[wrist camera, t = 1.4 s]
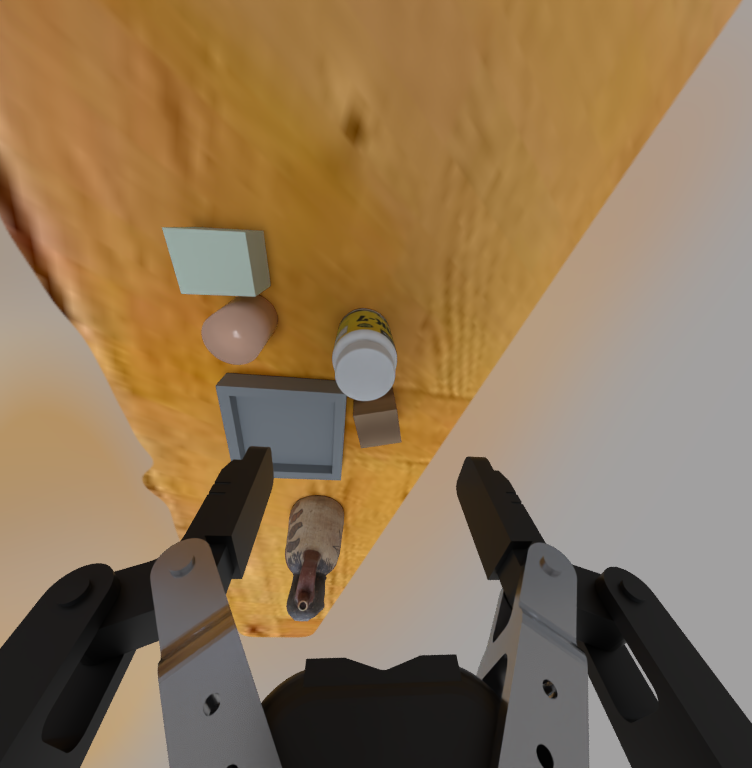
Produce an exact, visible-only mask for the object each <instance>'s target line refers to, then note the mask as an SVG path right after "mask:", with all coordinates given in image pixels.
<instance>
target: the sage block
mask: <svg viewBox="0 0 752 768" xmlns="http://www.w3.org/2000/svg"><path fill="white" fill-rule="evenodd" d="M162 229H163V232H164V236H165V239H166V243H167V246H168V250H169V253H170V256H171V260H172V263H173V267H174V270H175V273H176V277H177V280H178V284H179V287H180V291H181V294H201V295H226V296H252V297H256V296H257V295H259V294H260V293H261V292H263V291H264V290H266V289H267V288H269V287H270V286H271V284H270V276H269V269H268V261H267V254H266V246H265V239H264V231H258V230H240V229H223V228H205V227H163V228H162Z"/></svg>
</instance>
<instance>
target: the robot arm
mask: <svg viewBox="0 0 752 768" xmlns="http://www.w3.org/2000/svg"><path fill="white" fill-rule="evenodd" d="M273 480H274V472H273V462H272V452H271V448H270V447H258V446H250V447H249V448H248V449H247V451H246V453H245V455H244V457H243V459H242V460H237V459H233V460H232V461H231V462H230V463H229V464H228V465H226V466H225V467H224V468H223V469H222V470H221V472H220V474H219V475H218V477H217V479H216V481H215V484H213V486H212V488H211V490H210V491H209V495H207V497H206V498H205V500H204V502H203V504H202V505H201V507H200V509H199V511H198V513H197V514H196V516H195V518H194V520H193V521H192V523H191V525H190V527H189V528H188V530H187V532H186V534H185V535H184V537H183V538H182V540H181V541H180V542H178V543H176V544H174V545H172V546H171V547H170V548H168V549H167V550H166V551H164V552H163V553H162V555H160V557H159V558H157V559H155V560H153V561H150V562H147V563H143V564H140V565H136V566H133V567H129V568H126V569H122V570H119V571H115V572H114V571H113V570H112V569H111V567H110V566H108V565H106V564H101V563H100V564H99V563H96V564H90V565H86V566H83V567H81V568H78V569H76V570H74V571H72V572H70V573H69V574H67V575H65V576H64V577H63V578H61V579H59V580H58V581H57V582H56V583H55V584H53V585H52V586H51V587H50V588H49V589H48V590H47V591H46V592H45V594H44V595H43V596H42V597H41V598H40V599H39V601H38V602H37V603H36V604H35V606H34V607H33V608H32V610H31V611H30V612H29V613H28V615H27V616H26V617H25V618H24V620H23V621H22V622H21V623H20V625H19V626H18V627H17V629H15V631H14V632H13V633H12V635H11V636H10V637H9V638H8V640H7V641H6V642H5V643H4V645H3V646H2V647H1V648H0V768H80V766H81V764H82V762H83V760H84V758H85V756H86V754H87V752H88V750H89V747H90V745H91V743H92V741H93V739H94V737H95V735H96V733H97V731H98V729H99V727H100V724H101V722H102V720H103V718H104V716H105V714H106V712H107V710H108V708H109V706H110V703H111V702H112V699H113V697H114V695H115V693H116V691H117V689H118V687H119V685H120V683H121V681H122V678H123V676H124V674H125V672H126V670H127V668H128V666H129V664H130V662H131V660H132V657H133V655H134V653H135V651H136V649H138V648H141V647H143V646H146V645H149V644H151V643H154V642H157V641H159V643H160V651H161V660H160V661H159V663H158V681H159V689H160V697H161V705H162V712H163V720H164V728H165V735H166V743H167V751H168V758H169V766H170V768H589V731H588V729H589V724H588V675H589V678H590V680H591V682H592V684H593V686H594V688H595V690H596V692H597V694H598V697H599V699H600V701H601V703H602V705H603V707H604V709H605V711H606V714H607V716H608V718H609V720H610V722H611V724H612V726H613V729H614V731H615V733H616V735H617V737H618V739H619V741H620V743H621V746H622V748H623V750H624V752H625V754H626V756H627V758H628V761H629V763H630V765H631V767H632V768H752V723H751V722H750V721H749V719H748V718H747V717H746V715H745V714H744V713H743V711H742V710H741V709H740V707H739V706H738V705H737V703H736V702H735V701H734V699H733V698H732V697H731V695H729V693H728V691H727V690H726V689H725V687H724V686H723V685H722V683H721V682H720V681H719V680H718V678H717V677H716V676H715V674H714V673H713V672H712V670H711V669H710V668H709V666H708V665H707V664H706V662H705V661H704V660H703V658H702V657H701V656H700V654H699V653H698V652H697V650H696V649H695V648H694V646H693V645H692V644H691V642H690V641H689V640H688V639H687V637H686V636H685V634H684V633H683V632H682V630H681V629H680V628H679V626H678V625H677V624H676V622H675V621H674V620H673V618H672V617H671V616H670V614H669V613H668V612H667V611H666V609H665V608H664V607H663V605H662V604H661V602H660V601H659V600H658V598H657V597H656V596H655V595H654V593H653V592H652V591H651V590H650V589H649V587H648V586H647V585H646V584H645V583H644V582H642V581H641V580H640V579H639V578H637V577H636V576H635V575H633V574H631V573H630V572H628V571H626V570H624V569H621V568H618V567H609V568H607V569H606V570H605V571H604V572H603V573H602V574H598V573H596V572H593V571H590V570H587V569H584V568H581V567H578V566H575V565H572V564H571V562H570V561H569V560H568V559H567V558H566V556H565V555H563V554H562V553H561V552H560V551H559V550H557V549H556V548H554V547H552V546H550V545H548V544H546V543H545V541H544V539H543V538H542V536H541V534H540V533H539V531H538V529H537V528H536V526H535V524H534V523H533V521H532V519H531V517H530V516H529V514H528V512H527V511H526V509H525V507H524V505H523V504H521V500H520V499H519V497H518V495H516V492H515V490H514V488H513V487H512V485H511V483H510V482H509V480H507V478H505V477H504V476H503V475H502V474H501V473H500V472H499V471H494V470H493V468H492V466H491V464H490V462H489V461H488V459H487V458H485V457H466V459H465V461H464V464H463V466H462V469H461V472H460V474H459V477H458V480H457V485H456V490H457V496H458V499H459V502H460V504H461V507H462V510H463V512H464V515H465V518H466V521H467V523H468V526H469V529H470V532H471V534H472V537H473V540H474V543H475V545H476V548H477V551H478V554H479V556H480V559H481V562H482V565H483V568H484V570H485V573H486V576H487V579H488V580H500V582H501V585H502V587H503V588H502V590H501V592H500V595H499V599H498V604H497V608H496V612H495V616H494V621H493V625H492V629H491V633H490V637H489V641H488V645H487V648H486V651H485V653H484V655H483V658H482V660H481V662H480V666H479V668H478V672H477V675H476V676H475V675H474V674H472V673H471V672H469V671H467V670H465V669H463V668H461V667H459V665H458V661H457V656H456V655H422V656H418V657H416V658H414V659H412V660H409V661H407V662H404V663H402V664H400V665H397V666H395V667H392V668H390V669H387V670H379V669H377V668H373V667H371V666H368V665H365V664H362V663H359V662H356V661H353V660H350V659H347V658H320V659H306V666H305V670H304V671H301V672H299V673H297V674H295V675H293V676H291V677H290V678H288V679H286V680H285V681H284V682H282V683H281V684H280V685H278V686H277V687H276V688H275V689H274V690H273V691H272V692H271V693H270V694H269V695H268V696H267V697H266V698H265V699H264V700H263V702H262V703H261V702H260V698H259V696H258V692H257V689H256V686H255V683H254V680H253V677H252V674H251V671H250V668H249V665H248V662H247V659H246V656H245V652H244V649H243V646H242V643H241V640H240V637H239V634H238V631H237V628H236V625H235V622H234V619H233V616H232V613H231V610H230V607H229V604H228V600H227V597H226V593H227V590H228V587H229V584H230V582H231V579H242V577H243V574H244V571H245V568H246V565H247V562H248V559H249V556H250V553H251V550H252V547H253V544H254V541H255V538H256V535H257V532H258V529H259V526H260V523H261V520H262V517H263V514H264V511H265V508H266V505H267V502H268V499H269V496H270V493H271V490H272V486H273ZM625 643H627V644H628V646H629V647H630V649H631V650H632V652H633V654H634V656H635V657H636V659H637V661H638V662H639V664H640V665H641V667H642V669H643V671H644V672H645V674H646V676H647V677H648V679H649V681H650V682H651V684H652V686H653V688H654V689H655V692H656V694H657V697H658V701H657V699H656V698H655V696H654V694H653V692H652V690H651V689H650V687H649V685H648V684H647V682H646V680H645V679H644V677H643V675H642V673H641V672H640V670H639V668H638V667H637V665H636V663H635V662H634V660H633V658H632V656H631V655H630V653H629V651H628V650H627V648H626V646H625V645H624V644H625Z"/></svg>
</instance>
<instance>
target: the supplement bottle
mask: <svg viewBox="0 0 752 768" xmlns="http://www.w3.org/2000/svg"><path fill="white" fill-rule="evenodd" d="M332 362H333V367H334V370H335V379H336V383H337V385H338V387H339V388H340V390H341V391H342V392H343V393H344V394H345V395H347V396H348V397H350V398H352V399H355V400H359V401H371V400H375V399H378V398H380V397H382V396H383V395H385V394H386V393H387V392H388V391H389V390H390V389H391V387H392V385H393V383H394V380H395V369H396V365H397V353H396V349H395V345H394V342H393V338H392V335H391V331H390V328H389V325H388V323H387V321H386V319H385V318H384V317H383V316H382V315H381V314H379V313H378V312H376V311H374V310H370V309H357V310H354V311H352V312H350V313H348V314H347V315H346V316H345V317H344V318H343V319H342V321H341V323H340V325H339V328H338V332H337V337H336V341H335V345H334V350H333V355H332Z"/></svg>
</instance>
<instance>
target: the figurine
mask: <svg viewBox="0 0 752 768" xmlns="http://www.w3.org/2000/svg"><path fill="white" fill-rule="evenodd" d="M343 525H344V512H343V509H342V507H341V505H340V504H339V503H338V502H337V501H335V500H333V499H332V498H329V497H326V496H308V497H305V498H302V499H300V500H298V501H297V503H296V504H295V505H294V506H293V508H292V510H291V513H290V517H289V528H288V536H287V544H286V549H285V559H286V563H287V566H288V568H289V569H290V571H291V572H292V573H293V575H294V576H293V581H292V586H291V589H290V593H289V596H288V600H287V606H286V607H287V611H288V613H289V615H290V616H291V617H292V618H293V619H294V620H295V621H308V620H310V619H311V618H313V617H315V616H316V615H317V614H318V613H319V612H320V611H321V610H323V608H324V595H325V580H326V575H327V574H328V573H329V572H331V571H332V570H333V569H334V567H335V566H336V563H337V560H338V557H339V554H340V548H341V539H342V532H343Z"/></svg>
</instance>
